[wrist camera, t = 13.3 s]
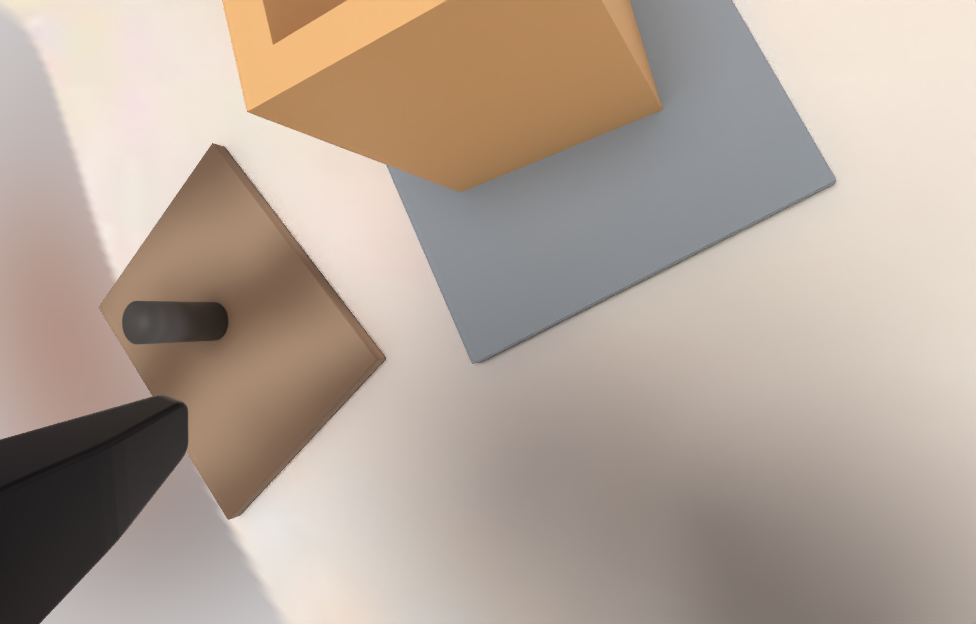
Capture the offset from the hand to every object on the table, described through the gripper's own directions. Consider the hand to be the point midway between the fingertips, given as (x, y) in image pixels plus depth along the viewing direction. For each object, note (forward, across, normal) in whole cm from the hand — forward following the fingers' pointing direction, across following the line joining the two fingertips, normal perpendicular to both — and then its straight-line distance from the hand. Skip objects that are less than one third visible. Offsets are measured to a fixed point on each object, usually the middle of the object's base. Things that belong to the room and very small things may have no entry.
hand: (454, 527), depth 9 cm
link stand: (+14, +13, +8) cm, 20 cm away
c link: (+14, +3, -4) cm, 15 cm away
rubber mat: (+15, +3, -4) cm, 16 cm away
